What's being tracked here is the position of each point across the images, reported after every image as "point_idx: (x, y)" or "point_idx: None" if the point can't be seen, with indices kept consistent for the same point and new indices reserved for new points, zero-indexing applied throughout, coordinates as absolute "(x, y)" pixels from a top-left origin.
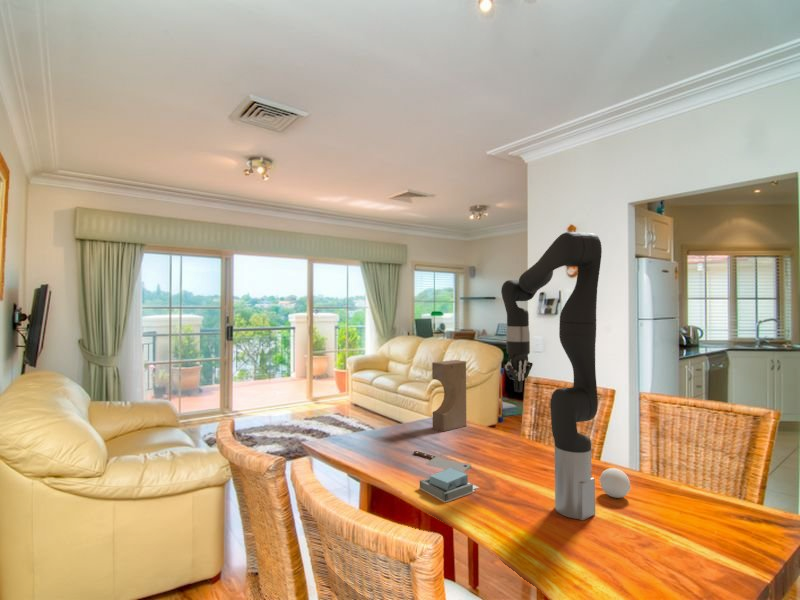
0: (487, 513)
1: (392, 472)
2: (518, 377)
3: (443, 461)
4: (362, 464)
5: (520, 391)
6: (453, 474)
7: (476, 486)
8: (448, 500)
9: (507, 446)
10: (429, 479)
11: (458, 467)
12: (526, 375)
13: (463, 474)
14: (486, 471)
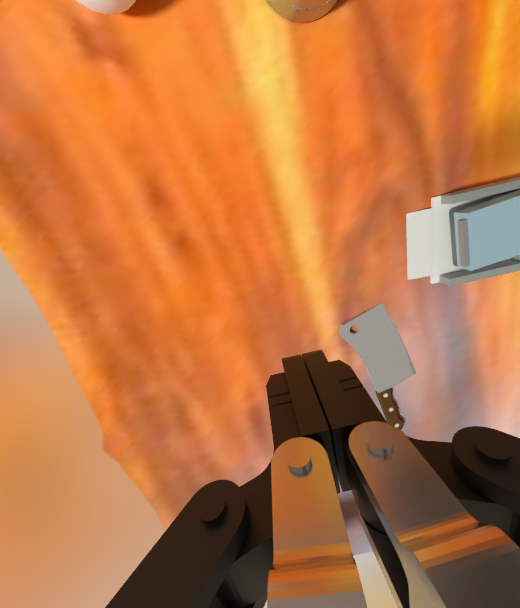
0: (494, 75)
1: (499, 357)
2: (423, 467)
3: (379, 367)
4: (517, 410)
5: (306, 353)
6: (496, 228)
7: (408, 221)
8: (517, 177)
9: (175, 402)
10: (510, 265)
11: (371, 329)
12: (204, 529)
13: (476, 217)
14: (326, 289)
